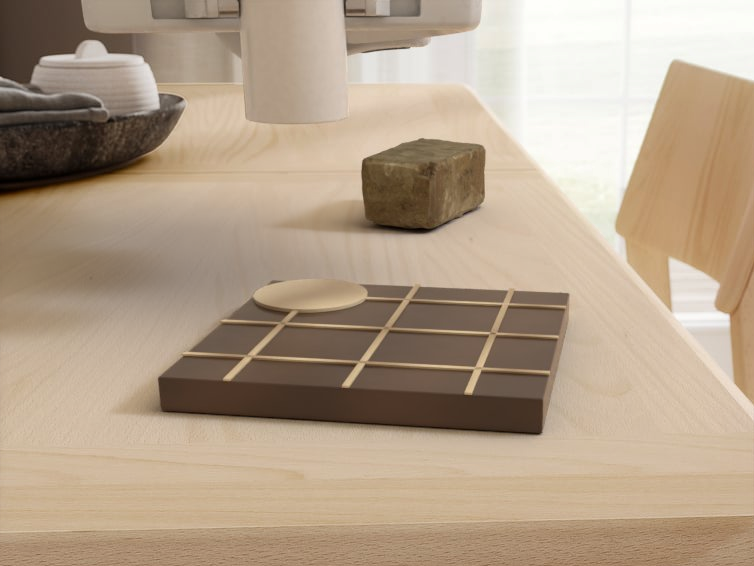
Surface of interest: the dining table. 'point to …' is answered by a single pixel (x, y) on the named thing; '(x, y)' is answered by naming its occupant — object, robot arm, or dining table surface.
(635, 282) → the dining table surface
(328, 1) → the tall white cylinder
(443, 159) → the stone block
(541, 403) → the grid board
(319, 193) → the dining table surface
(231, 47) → the robot arm
